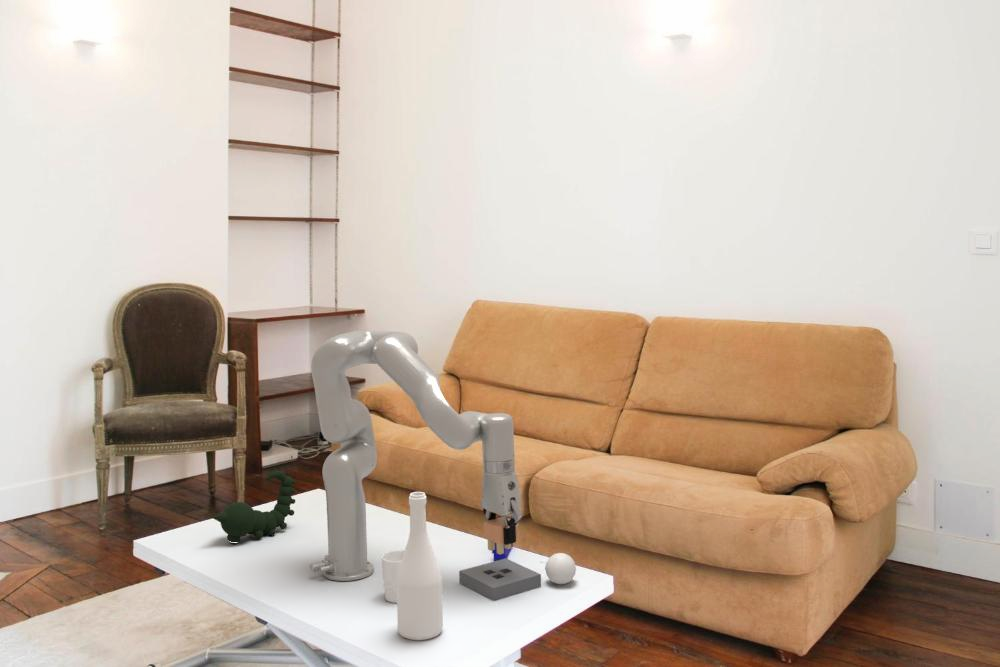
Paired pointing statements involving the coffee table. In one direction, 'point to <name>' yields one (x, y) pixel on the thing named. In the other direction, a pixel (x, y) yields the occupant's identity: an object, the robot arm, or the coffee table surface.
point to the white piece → (560, 568)
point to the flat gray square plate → (499, 579)
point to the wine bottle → (419, 580)
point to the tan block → (497, 534)
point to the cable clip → (501, 556)
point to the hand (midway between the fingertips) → (501, 539)
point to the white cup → (391, 573)
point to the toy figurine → (258, 513)
